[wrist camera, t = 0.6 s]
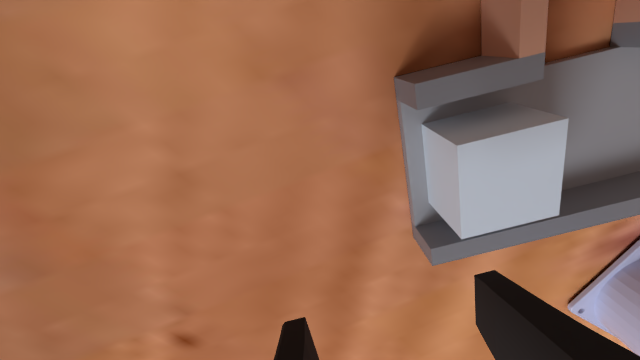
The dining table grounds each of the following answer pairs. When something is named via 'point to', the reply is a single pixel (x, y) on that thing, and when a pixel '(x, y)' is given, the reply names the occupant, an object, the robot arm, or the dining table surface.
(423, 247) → the box
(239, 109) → the dining table surface
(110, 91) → the dining table surface
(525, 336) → the robot arm
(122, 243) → the dining table surface
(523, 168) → the block
